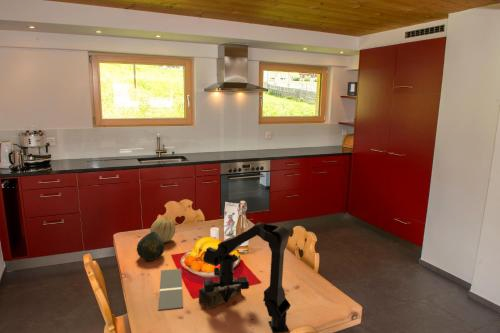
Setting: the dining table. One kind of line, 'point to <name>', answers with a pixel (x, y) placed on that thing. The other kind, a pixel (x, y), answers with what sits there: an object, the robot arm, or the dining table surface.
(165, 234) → the cantaloupe
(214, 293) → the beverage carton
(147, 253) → the squash
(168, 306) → the strip
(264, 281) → the dining table surface
